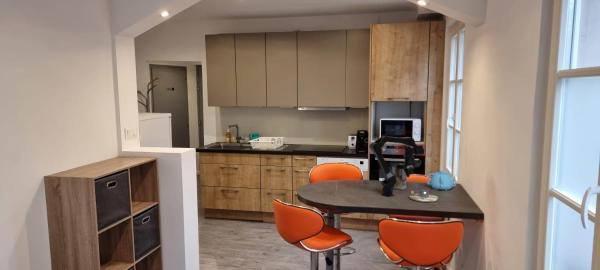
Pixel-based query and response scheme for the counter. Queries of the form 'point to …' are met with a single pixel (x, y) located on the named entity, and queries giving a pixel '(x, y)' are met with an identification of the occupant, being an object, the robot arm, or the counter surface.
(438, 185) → the decorative pot
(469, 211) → the counter surface
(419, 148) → the robot arm
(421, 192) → the cover
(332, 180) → the counter surface
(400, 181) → the coffee box
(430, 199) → the turntable
